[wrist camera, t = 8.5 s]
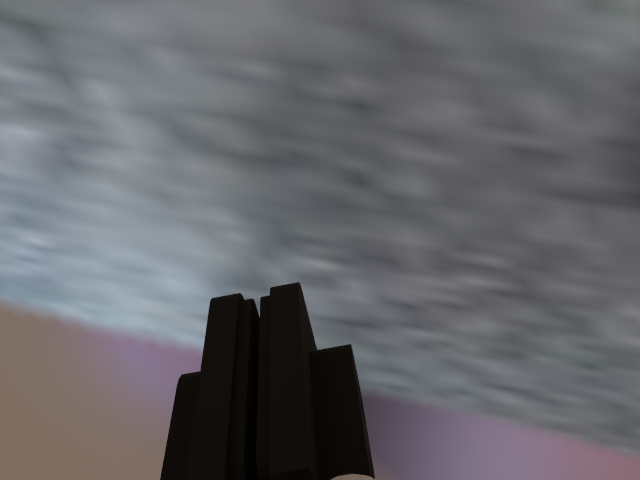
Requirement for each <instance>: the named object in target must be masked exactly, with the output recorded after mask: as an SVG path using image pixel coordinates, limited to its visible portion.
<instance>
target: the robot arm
mask: <svg viewBox="0 0 640 480" xmlns="http://www.w3.org/2000/svg"><path fill="white" fill-rule="evenodd" d="M160 480H376V479H375V476H374V469H373V463H372V457H371V451H370V445H369V438H368V432H367V426H366V420H365V414H364V408H363V402H362V397H361V391H360V386H359V380H358V375H357V370H356V366H355V361H354V356H353V351H352V347H351V344H349V345H344V346H338V347H333V348H327V349H322V350H317V348H316V344H315V340H314V336H313V332H312V328H311V324H310V320H309V316H308V312H307V308H306V304H305V300H304V296H303V292H302V289H301V285H300V283H299V282H298V283H292V284H287V285H281V286H276V287H271V288H270V295H269V296H264V297H261V300H260V317H259V314H258V311H257V307H256V304H255V302H254V300H253V299H248V300H244V298H243V296H242V294H241V293H238V294H233V295H227V296H222V297H216V298H212V299H211V301H210V306H209V314H208V321H207V328H206V335H205V342H204V350H203V357H202V364H201V371H200V372H194V373H188V374H182V375H181V377H180V378H179V381H178V384H177V389H176V395H175V400H174V406H173V411H172V417H171V423H170V428H169V434H168V440H167V445H166V451H165V456H164V461H163V467H162V473H161V478H160Z"/></svg>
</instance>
